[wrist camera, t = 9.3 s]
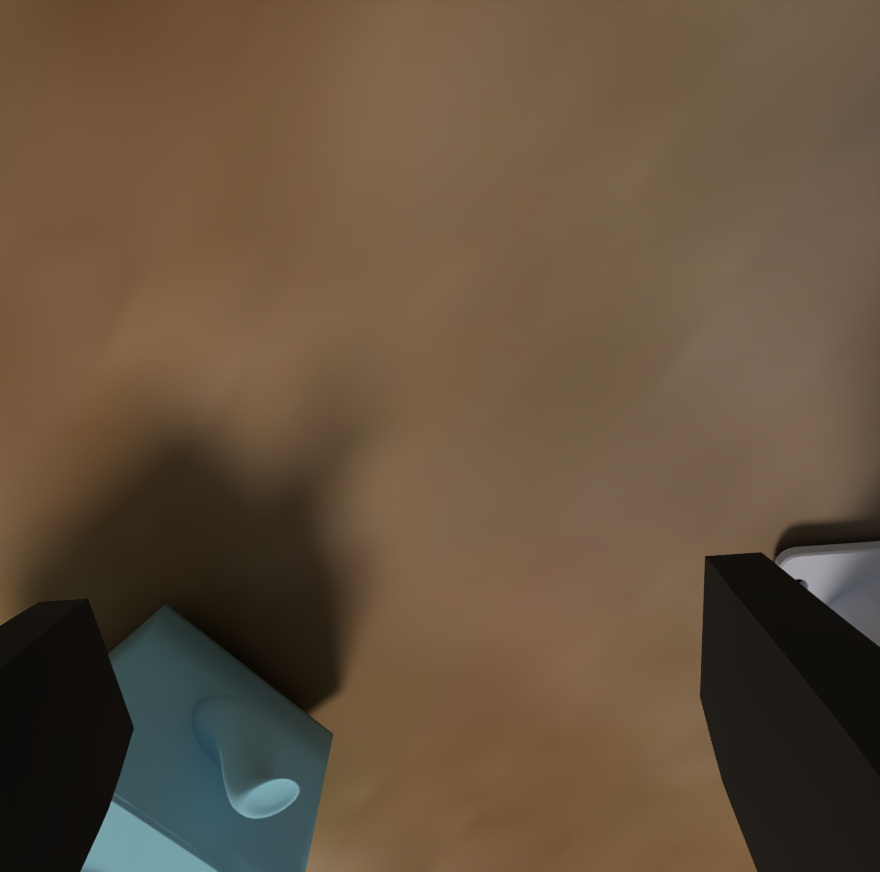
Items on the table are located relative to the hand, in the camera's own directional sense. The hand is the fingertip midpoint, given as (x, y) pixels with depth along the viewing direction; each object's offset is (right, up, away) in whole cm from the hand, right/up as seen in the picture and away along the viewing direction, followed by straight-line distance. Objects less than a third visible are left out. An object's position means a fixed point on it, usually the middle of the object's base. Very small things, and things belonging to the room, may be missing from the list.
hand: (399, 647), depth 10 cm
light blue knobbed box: (-6, -5, +15) cm, 17 cm away
